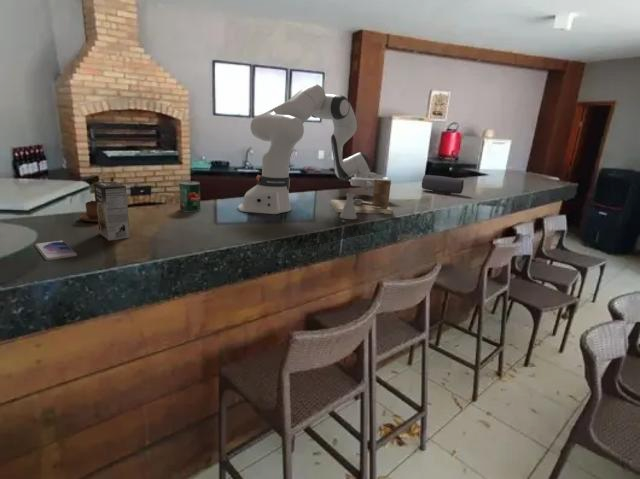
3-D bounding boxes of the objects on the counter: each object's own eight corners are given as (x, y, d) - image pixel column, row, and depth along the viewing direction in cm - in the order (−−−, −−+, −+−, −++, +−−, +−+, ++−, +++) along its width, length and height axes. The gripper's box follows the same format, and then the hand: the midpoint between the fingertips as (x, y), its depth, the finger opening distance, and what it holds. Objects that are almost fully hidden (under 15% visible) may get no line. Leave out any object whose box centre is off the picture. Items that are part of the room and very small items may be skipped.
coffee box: (98, 233, 123) (92, 182, 118) (120, 230, 127) (115, 180, 123) (108, 241, 117) (102, 186, 112) (130, 237, 121) (126, 185, 116)
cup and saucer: (76, 218, 139) (74, 200, 137) (113, 214, 146) (112, 198, 145) (83, 226, 130) (81, 207, 128) (122, 222, 138) (121, 204, 136)
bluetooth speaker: (462, 194, 236) (465, 178, 233) (458, 196, 228) (461, 179, 225) (425, 189, 247) (427, 173, 244) (420, 191, 240) (422, 174, 237)
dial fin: (352, 204, 180) (354, 177, 176) (354, 203, 184) (356, 176, 180) (386, 209, 175) (389, 181, 171) (388, 207, 178) (391, 180, 175)
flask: (356, 220, 158) (358, 196, 156) (338, 219, 160) (340, 194, 157) (357, 216, 165) (360, 193, 162) (340, 215, 167) (342, 191, 164)
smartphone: (63, 239, 114) (77, 254, 104) (63, 242, 114) (78, 257, 104) (33, 243, 109) (45, 258, 99) (34, 246, 110) (46, 262, 99)
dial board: (337, 212, 171) (337, 208, 171) (330, 202, 190) (330, 199, 190) (392, 213, 175) (393, 210, 174) (380, 204, 194) (380, 200, 193)
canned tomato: (197, 212, 156) (196, 184, 153) (177, 211, 156) (176, 183, 153) (202, 208, 164) (202, 181, 161) (183, 207, 164) (182, 180, 161)
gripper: (348, 173, 202) (353, 177, 189) (386, 174, 205) (394, 179, 192) (347, 185, 204) (352, 190, 191) (385, 186, 207) (393, 191, 194)
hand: (374, 184), depth 191 cm, fingers closed
